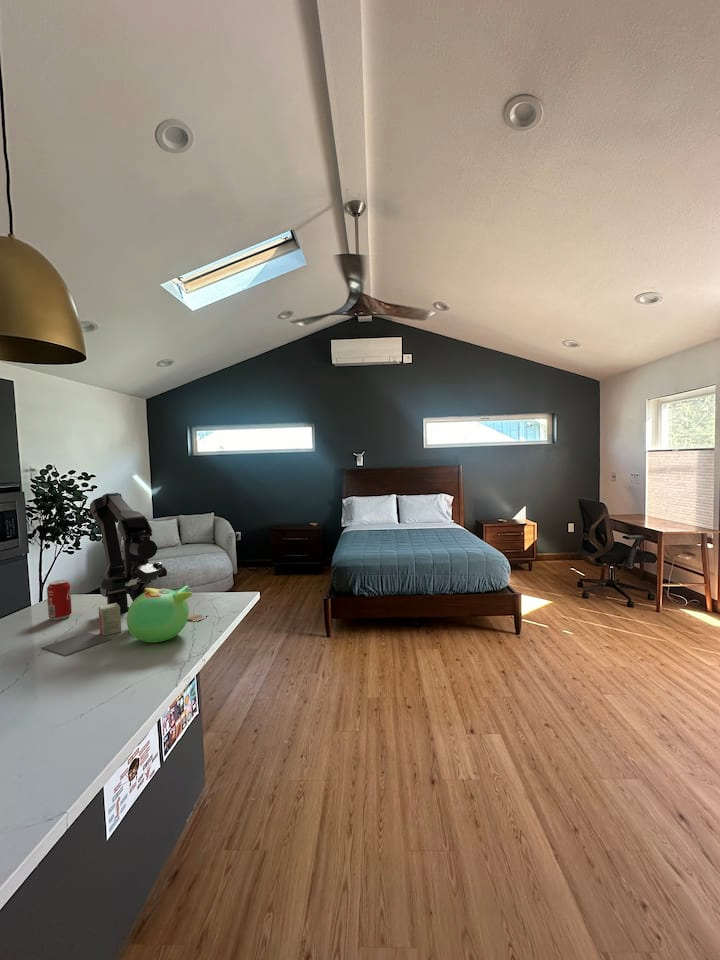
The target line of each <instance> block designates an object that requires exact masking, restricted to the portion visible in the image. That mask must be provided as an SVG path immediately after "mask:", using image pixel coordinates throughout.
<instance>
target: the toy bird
mask: <svg viewBox="0 0 720 960" xmlns="http://www.w3.org/2000/svg"><path fill="white" fill-rule="evenodd" d="M189 590H190V587H189V585H184V586H183V587H181V588H179V589H178V590H173V589H169V588H161V587H160V588H154V587H153V588H152V587H145V589H144V592H143V594H141V595H140V596H138V597H137V598H136V599H135V600H134V601H133V600H132V602H131V604H130V606H129V607H130V608H129V610H128V611H127V615H126V625H127V629H128V631H129V633H130V635H132V636H133V637H134V638H135V639H137V640H139V641H141V642H145V643H150V644H151V643H153V644H154V643H161V642H162V643H163V642H166V641H168V640H171V639H173V638H174V637H176V636H177V635H179V634H180V633H181V632H182V631H183V629H184V628H185V626H186V624H187V623H188V621H187V620H188V616H189V615H190V614H189V613H190V612H189V611H190V610H189V605H188V602H187V601H188V600H187V599H189V598H190V597H191V596H193V592H191V591H189Z"/></svg>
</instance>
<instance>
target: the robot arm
mask: <svg viewBox="0 0 720 960" xmlns="http://www.w3.org/2000/svg"><path fill="white" fill-rule="evenodd" d="M89 511H90V514H92V518H93V520H94V521H95V522H96V523H97V524H98V525H99V527H100V533H101V538H102V543H103V549H104V553H105V554H104V555H105V559H106V568H105V570H104V571H105V572H104V573H103V579H102V581H101V583H100V584H101V586H100V588H99V591H100V595H101V596H103V597H104V598H106V603H107V604H106V605H109V604H113V603H117V604H118V605H119V606H120V614H122V613H125V612H128V610H129V608H130V606H129V603H128V596H129V597H130V599H131V600H132V602H133V601H134V600H135V599H136V598H137V597H138V596H140V595H141V594H143V593H145V588H147V586H148V585H149V584H151V583H152V581H153V580H154V581H155V580H157V579H158V578H163V577H167V576H168V570H167V568H166V567H164V566H163V563H162V562H160V561H158V562H154V563H151V564H150V563H149V559H152V558H154V557H155V555H156V554H157V551H158V546H157V544H156V542H155V541H153V540H151V537H152V536H153V529H152V527H151V525H150V523H149V521H148V519H147V517H146V516H145V515H144V514H142V513H141V512H140V511H136V510H133V509H132V508H131V507H130V506H129V504H128V503H127V502H126V501H125V500H124V499H123V496H122V494H121V493H119V492H112V493H111V492H110V493H107V492H106V493H105V494H103V495H102V496H100V497H97V498H95V499H93V500H92V501H91V503H90V504H89ZM117 520H118V521H117ZM116 522H117V524H116ZM118 531H119V532H120V535H121V537H122V541H123V554H124V555H123V556H122V551H121V547H120V546H121V545H120V540H119V536H118ZM123 557H124V558H123Z"/></svg>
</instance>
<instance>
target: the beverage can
mask: <svg viewBox="0 0 720 960" xmlns="http://www.w3.org/2000/svg"><path fill="white" fill-rule="evenodd" d="M48 583H49V584H48V586H47V587H46V593H47V594H46V595H47V612H48V618H49V619H51V621H60V619H61V620H65V619H68V618H69V617H70V616H71V615H72V613H73V612H72V595H71V594H72V592H71V584H70V583H69V582H68V580H67V579H57V580H53V581H50V582H48ZM67 617H68V618H67Z"/></svg>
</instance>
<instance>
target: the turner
mask: <svg viewBox="0 0 720 960" xmlns="http://www.w3.org/2000/svg"><path fill="white" fill-rule="evenodd" d="M201 615H202V614H197V613H196V614H195V613H193V614H192V613H190V614H189V615H188V620H196V621H197V620H198V621H199V620H201V619H202V618H203V617H202V616H201ZM196 621H195V622H196ZM201 621H202V620H201Z"/></svg>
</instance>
